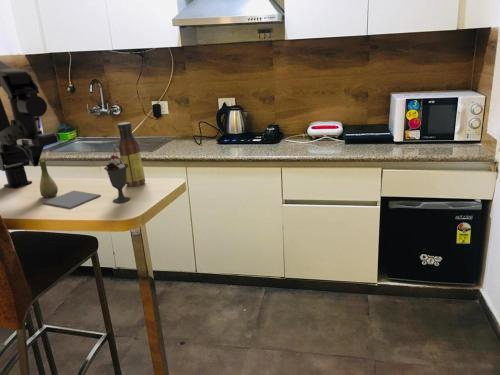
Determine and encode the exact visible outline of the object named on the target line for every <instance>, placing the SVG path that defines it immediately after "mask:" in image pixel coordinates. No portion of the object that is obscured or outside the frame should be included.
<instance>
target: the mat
mask: <svg viewBox="0 0 500 375" xmlns="http://www.w3.org/2000/svg"><path fill="white" fill-rule="evenodd" d="M101 196H102V195H101V194H97V193H91V192H85V191H79V190H72V191H71V190H70V191H69V192H66V193H64V194H62V195H58V196H56V197H53V198H51V199H48V200H45V201H43V202H42V204H43V205H48V206H52V207H53V206H54V207H60V208H64V209H70V210H71V209H74V208H76V207H79V206H80V205H83V204H86V203H88V202H90V201H93V200H95V199H98V198H100V197H101Z"/></svg>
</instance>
